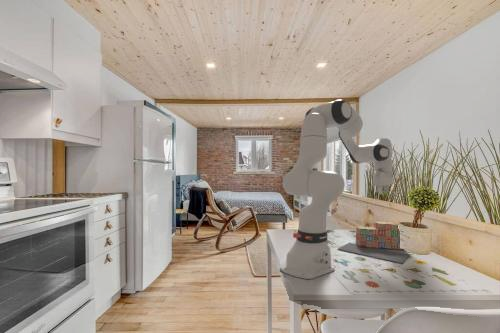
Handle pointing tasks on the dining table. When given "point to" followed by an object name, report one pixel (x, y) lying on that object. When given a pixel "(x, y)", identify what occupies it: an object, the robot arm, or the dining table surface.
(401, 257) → the charcoal rubber mat
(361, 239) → the stack of blocks
